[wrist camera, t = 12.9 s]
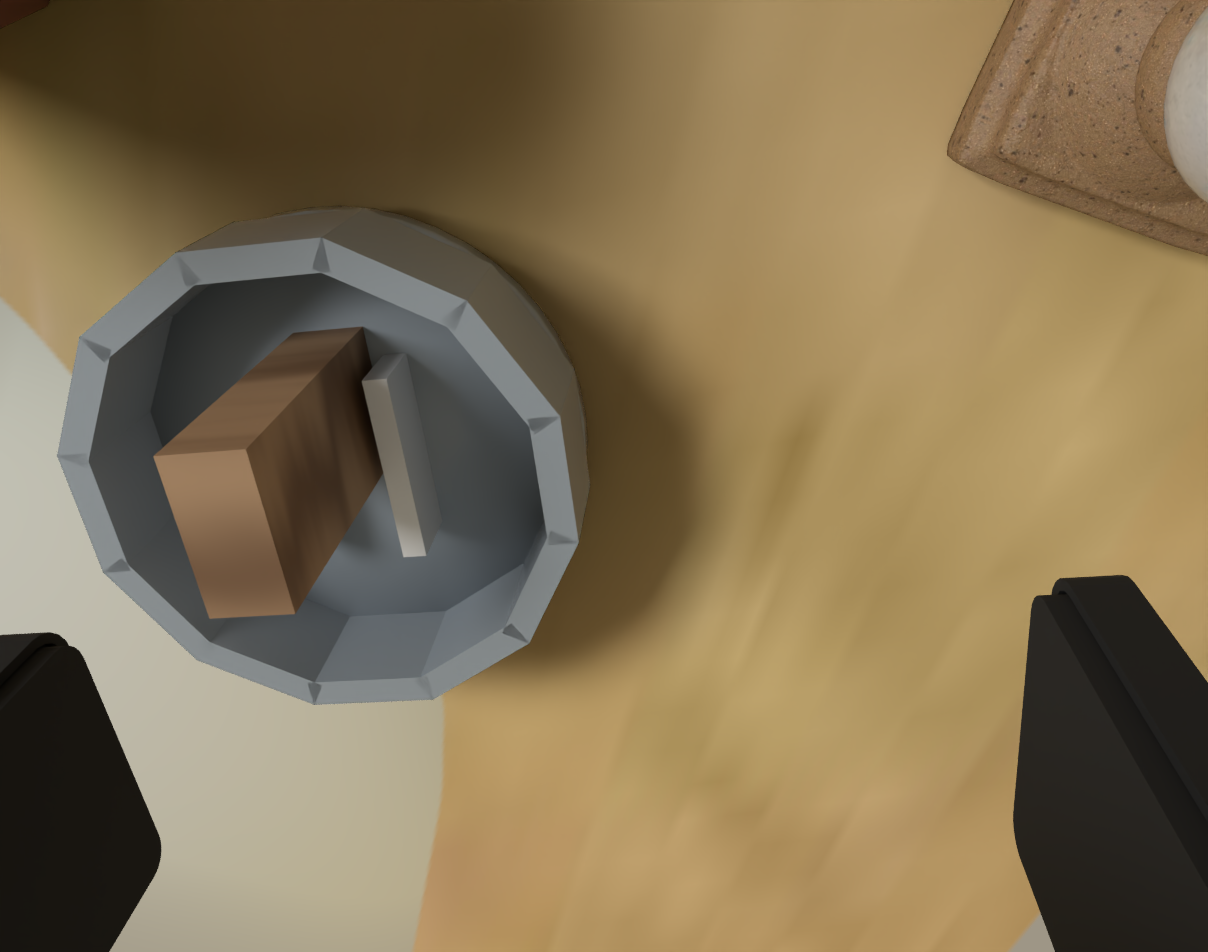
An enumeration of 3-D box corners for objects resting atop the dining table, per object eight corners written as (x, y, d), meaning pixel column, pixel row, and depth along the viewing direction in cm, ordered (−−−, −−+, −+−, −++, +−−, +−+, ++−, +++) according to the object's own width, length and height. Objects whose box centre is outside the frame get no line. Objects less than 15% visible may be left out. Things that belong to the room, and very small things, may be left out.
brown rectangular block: (293, 332, 41) (153, 456, 30) (362, 326, 41) (245, 449, 30) (327, 462, 44) (209, 618, 33) (392, 457, 43) (295, 614, 33)
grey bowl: (83, 231, 41) (-16, 272, 36) (554, 180, 39) (530, 215, 33) (219, 627, 50) (157, 711, 44) (611, 606, 48) (600, 692, 42)
